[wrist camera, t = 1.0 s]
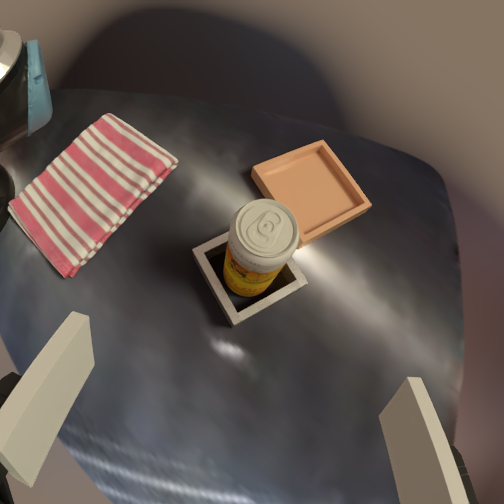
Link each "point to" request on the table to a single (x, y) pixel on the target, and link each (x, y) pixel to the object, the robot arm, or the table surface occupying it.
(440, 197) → the table surface
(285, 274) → the frame
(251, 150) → the table surface
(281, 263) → the beer can
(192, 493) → the table surface
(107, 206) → the dish towel
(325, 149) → the serving tray
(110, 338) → the table surface
